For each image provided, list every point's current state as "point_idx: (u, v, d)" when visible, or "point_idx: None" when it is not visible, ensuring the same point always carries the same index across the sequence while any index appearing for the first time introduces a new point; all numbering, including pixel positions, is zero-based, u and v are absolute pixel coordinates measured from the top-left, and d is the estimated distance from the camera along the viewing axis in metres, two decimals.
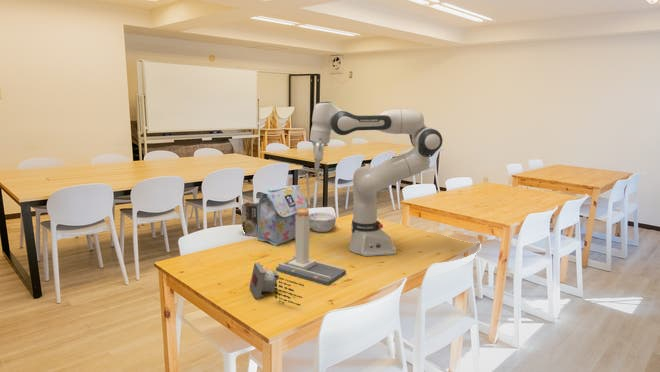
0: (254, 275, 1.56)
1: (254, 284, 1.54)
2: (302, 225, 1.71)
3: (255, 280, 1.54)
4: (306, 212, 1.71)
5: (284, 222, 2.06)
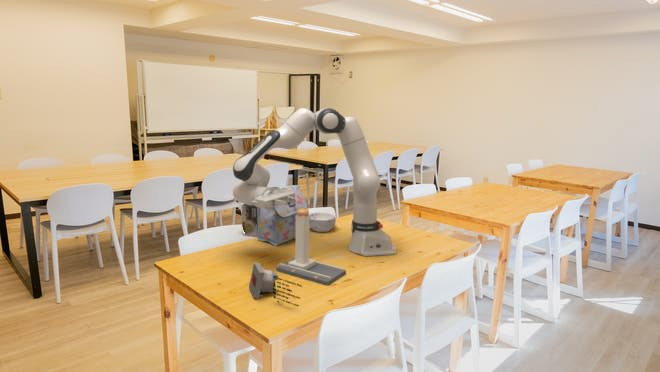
0: (253, 275, 1.56)
1: (253, 284, 1.54)
2: (302, 225, 1.71)
3: (254, 280, 1.54)
4: (306, 212, 1.71)
5: (284, 222, 2.06)
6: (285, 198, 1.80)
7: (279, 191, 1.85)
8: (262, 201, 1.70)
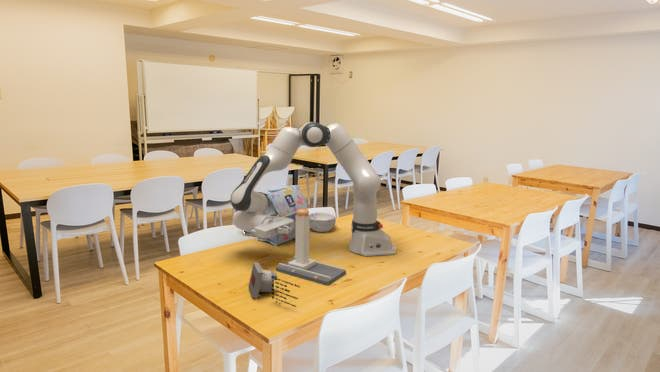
0: (252, 275, 1.56)
1: (252, 284, 1.54)
2: (302, 225, 1.71)
3: (253, 280, 1.54)
4: (306, 212, 1.71)
5: None
6: (281, 228, 1.81)
7: (279, 219, 1.88)
8: (262, 231, 1.72)
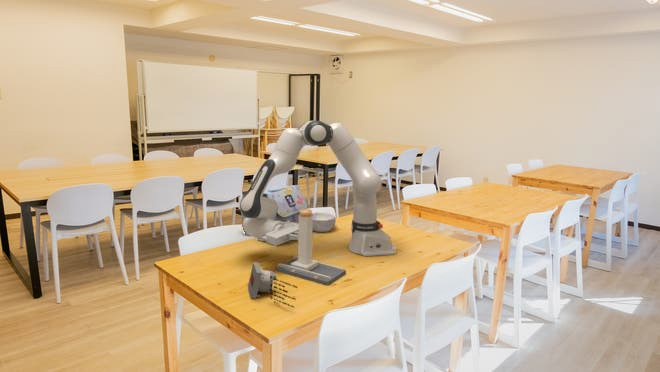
0: (252, 275, 1.56)
1: (251, 284, 1.54)
2: (305, 226, 1.71)
3: (252, 280, 1.54)
4: (309, 213, 1.70)
5: None
6: (292, 234, 1.78)
7: (289, 225, 1.85)
8: (273, 238, 1.70)
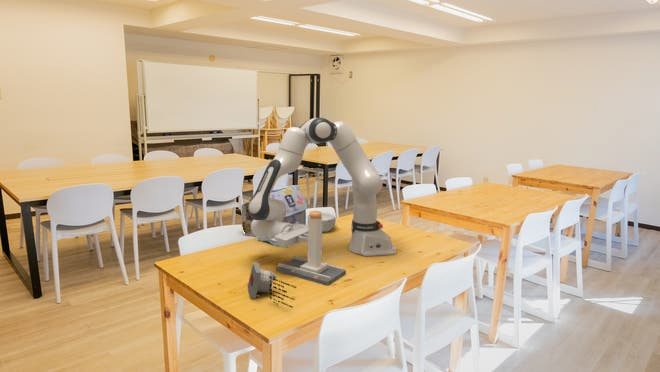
0: (251, 275, 1.56)
1: (251, 284, 1.54)
2: (315, 228, 1.68)
3: (252, 280, 1.54)
4: (319, 214, 1.68)
5: (284, 222, 2.06)
6: (302, 236, 1.76)
7: (298, 226, 1.83)
8: (282, 240, 1.68)
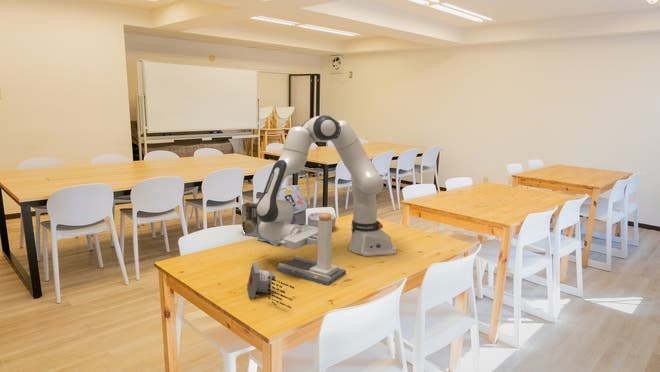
0: (251, 275, 1.56)
1: (250, 284, 1.54)
2: (325, 230, 1.66)
3: (251, 280, 1.54)
4: (329, 216, 1.65)
5: None
6: (311, 238, 1.74)
7: (307, 228, 1.80)
8: (292, 242, 1.65)
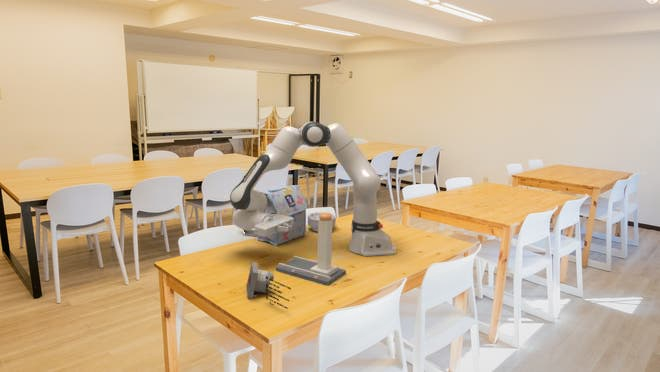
0: (250, 275, 1.56)
1: (249, 284, 1.54)
2: (325, 230, 1.66)
3: (249, 280, 1.54)
4: (329, 216, 1.65)
5: None
6: (281, 226, 1.81)
7: (278, 217, 1.88)
8: (262, 229, 1.73)
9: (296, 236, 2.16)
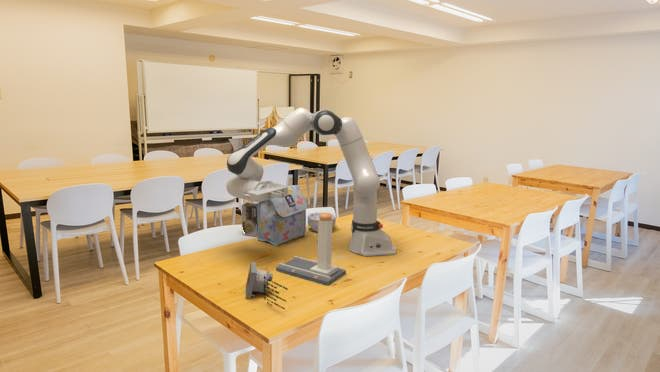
0: (249, 274, 1.56)
1: (247, 283, 1.54)
2: (325, 230, 1.66)
3: (248, 279, 1.54)
4: (329, 216, 1.65)
5: (284, 222, 2.06)
6: (274, 193, 1.81)
7: (272, 185, 1.87)
8: (254, 194, 1.72)
9: (296, 236, 2.16)
